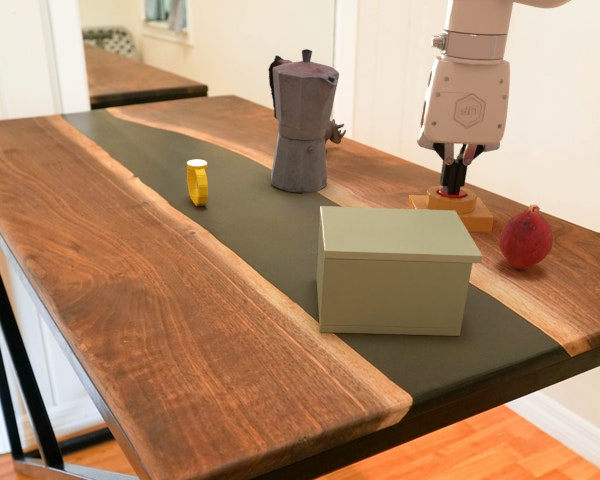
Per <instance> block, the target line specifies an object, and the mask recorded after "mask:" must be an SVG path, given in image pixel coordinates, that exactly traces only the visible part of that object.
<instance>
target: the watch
mask: <svg viewBox="0 0 600 480" xmlns="http://www.w3.org/2000/svg"><path fill="white" fill-rule="evenodd" d="M186 168H187V169H186V184H187V190H188V195H189V198H190V199H189V200H191V201H192V203H193V204H194V205H195V207H204V206H206V205H207V204H208V201H209V183H208V182H209V181H208V176H207V172H206V169H207V168H208V162H207V161H206V160H204V159H191V160H188V161H187V162H186Z"/></svg>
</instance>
